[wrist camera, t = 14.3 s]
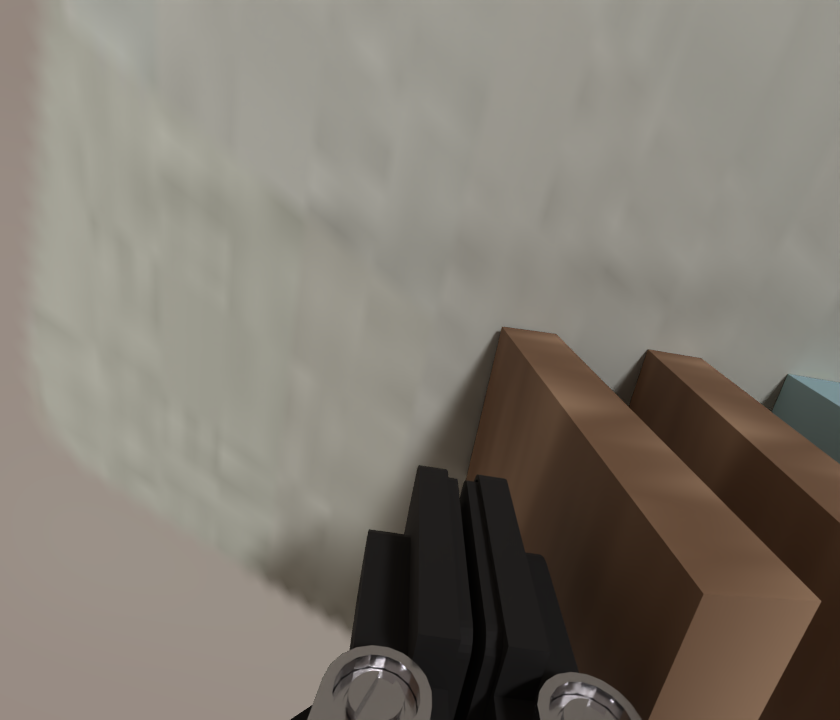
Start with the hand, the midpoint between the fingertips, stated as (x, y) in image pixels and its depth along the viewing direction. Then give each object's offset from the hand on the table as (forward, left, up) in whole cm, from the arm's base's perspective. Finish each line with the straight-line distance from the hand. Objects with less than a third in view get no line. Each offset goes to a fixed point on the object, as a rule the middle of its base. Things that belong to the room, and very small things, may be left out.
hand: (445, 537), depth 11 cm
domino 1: (-2, +1, -6) cm, 7 cm away
